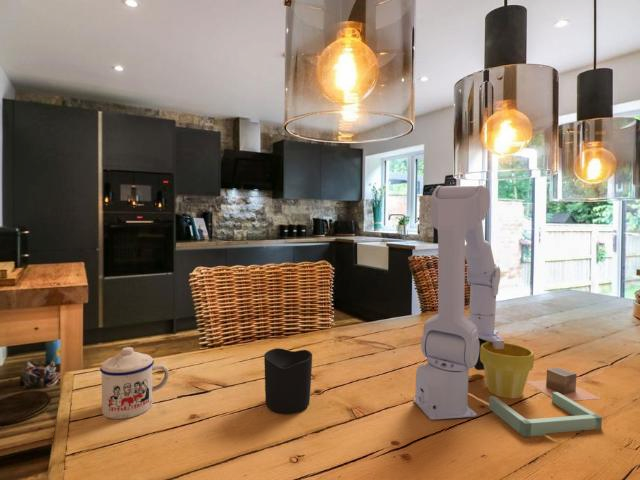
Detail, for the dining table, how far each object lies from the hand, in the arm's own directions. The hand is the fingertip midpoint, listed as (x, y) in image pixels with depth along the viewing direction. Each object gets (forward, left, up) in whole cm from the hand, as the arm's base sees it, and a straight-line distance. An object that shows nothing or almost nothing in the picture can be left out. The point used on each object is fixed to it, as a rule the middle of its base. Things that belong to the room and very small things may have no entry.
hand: (479, 368), depth 93 cm
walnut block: (+13, -10, -1) cm, 17 cm away
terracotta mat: (+13, -10, -2) cm, 17 cm away
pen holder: (-47, -8, -2) cm, 48 cm away
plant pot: (0, -9, -2) cm, 10 cm away
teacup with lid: (-76, -5, -2) cm, 76 cm away
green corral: (0, -20, -2) cm, 21 cm away
